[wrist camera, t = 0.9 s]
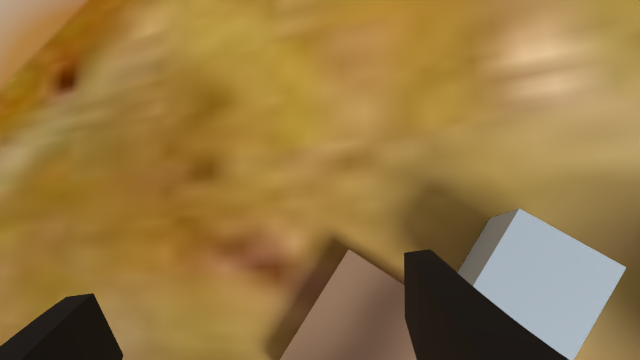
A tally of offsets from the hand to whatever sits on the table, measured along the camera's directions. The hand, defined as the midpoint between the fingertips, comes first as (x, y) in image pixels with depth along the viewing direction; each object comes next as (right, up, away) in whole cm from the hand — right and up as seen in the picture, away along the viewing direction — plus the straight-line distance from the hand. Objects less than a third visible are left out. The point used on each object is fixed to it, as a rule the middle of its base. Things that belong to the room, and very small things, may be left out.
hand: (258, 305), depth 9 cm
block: (+12, -2, +12) cm, 17 cm away
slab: (+5, -7, +13) cm, 15 cm away
